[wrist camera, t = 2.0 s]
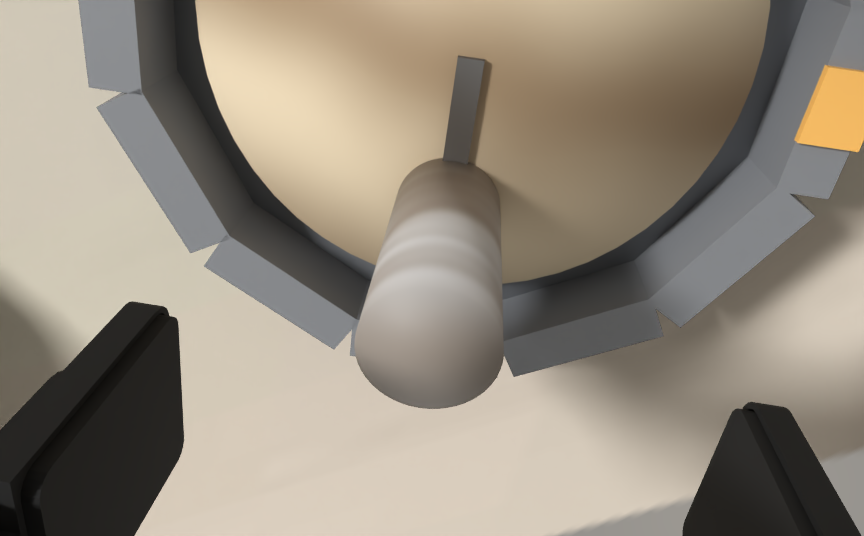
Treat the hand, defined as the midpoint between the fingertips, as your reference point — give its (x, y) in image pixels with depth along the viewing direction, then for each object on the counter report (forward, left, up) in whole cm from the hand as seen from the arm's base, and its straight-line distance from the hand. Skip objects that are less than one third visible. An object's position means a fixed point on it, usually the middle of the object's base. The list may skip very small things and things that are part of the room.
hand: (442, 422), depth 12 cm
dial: (-5, 0, -8) cm, 9 cm away
